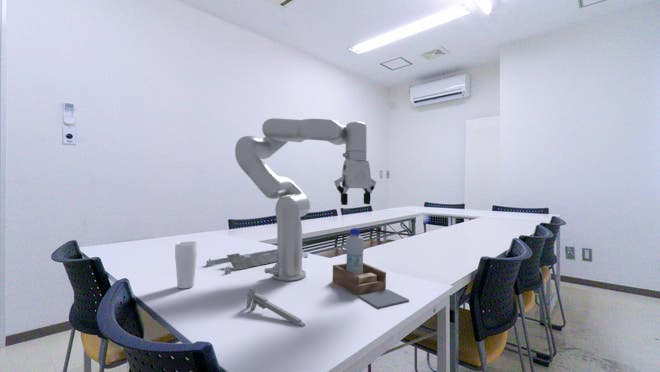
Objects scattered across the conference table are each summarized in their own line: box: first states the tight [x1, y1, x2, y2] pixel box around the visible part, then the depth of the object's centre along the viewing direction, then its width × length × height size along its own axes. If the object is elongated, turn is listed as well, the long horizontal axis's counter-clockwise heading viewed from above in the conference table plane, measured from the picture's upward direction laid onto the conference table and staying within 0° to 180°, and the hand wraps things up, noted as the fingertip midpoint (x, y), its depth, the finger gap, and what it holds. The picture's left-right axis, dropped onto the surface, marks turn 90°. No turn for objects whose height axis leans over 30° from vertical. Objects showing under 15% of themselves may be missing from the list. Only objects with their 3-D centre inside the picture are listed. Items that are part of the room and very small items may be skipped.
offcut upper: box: [357, 273, 377, 285], centre depth 101 cm, size 8×3×2 cm, turn 120°
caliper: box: [246, 287, 306, 328], centre depth 80 cm, size 20×1×6 cm, turn 58°
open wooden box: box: [332, 262, 387, 297], centre depth 105 cm, size 12×16×6 cm
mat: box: [357, 289, 410, 310], centre depth 93 cm, size 12×10×1 cm
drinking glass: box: [174, 240, 198, 290], centre depth 102 cm, size 7×7×15 cm
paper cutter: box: [206, 248, 309, 275], centre depth 138 cm, size 18×45×6 cm, turn 134°
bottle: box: [345, 227, 365, 275], centre depth 107 cm, size 7×7×20 cm
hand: (355, 204), depth 107 cm, fingers open, 9 cm apart
